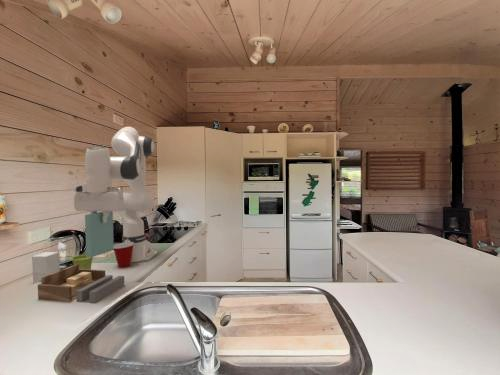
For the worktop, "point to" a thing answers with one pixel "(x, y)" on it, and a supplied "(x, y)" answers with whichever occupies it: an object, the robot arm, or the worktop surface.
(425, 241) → the worktop surface
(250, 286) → the worktop surface
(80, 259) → the plant pot
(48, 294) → the open wooden tray
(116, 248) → the plastic cup
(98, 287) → the sheet stand
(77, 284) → the offcut stack
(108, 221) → the tall sheet
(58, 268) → the supplement box
